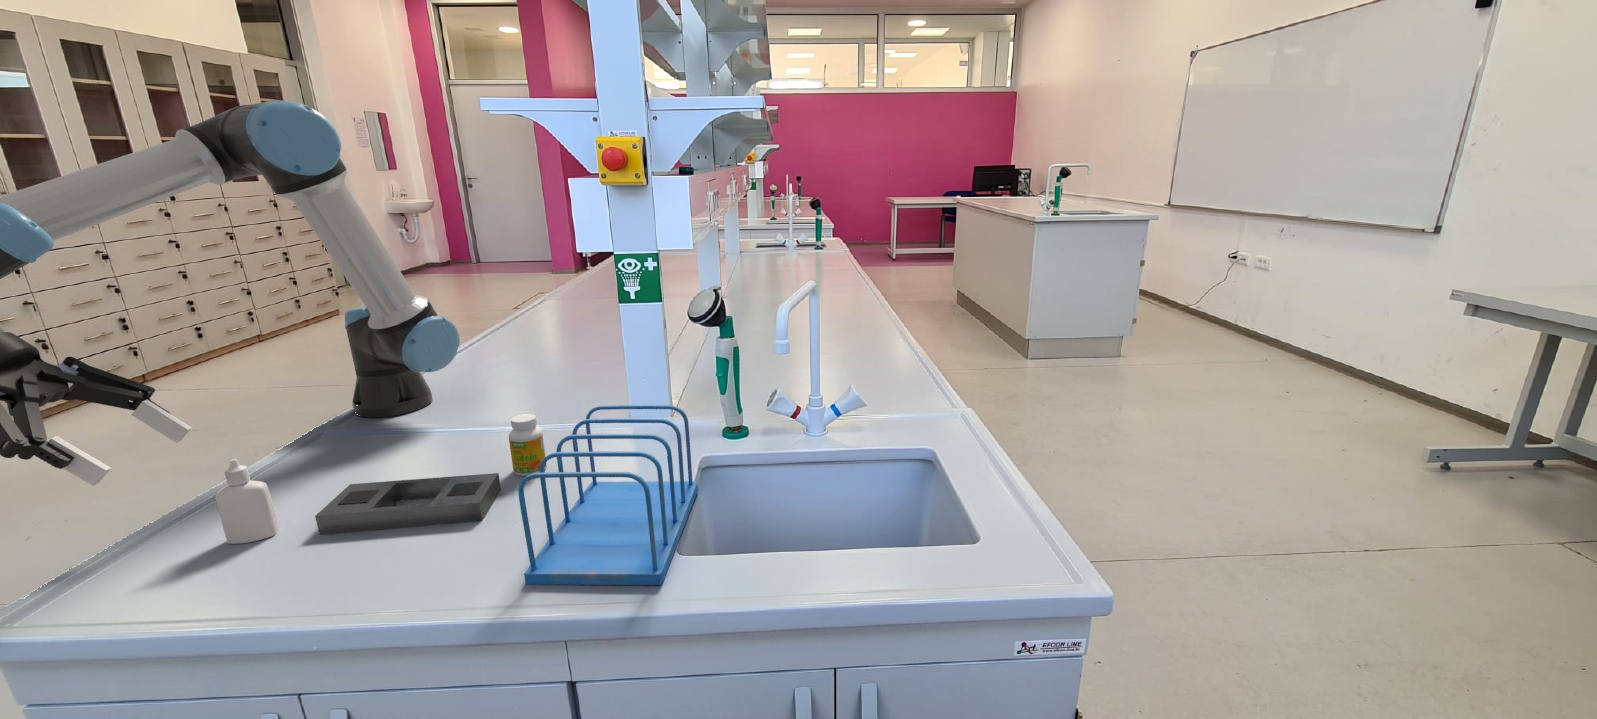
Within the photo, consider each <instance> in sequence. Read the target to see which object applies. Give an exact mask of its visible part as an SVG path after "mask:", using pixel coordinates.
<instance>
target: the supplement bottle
mask: <svg viewBox="0 0 1597 719" xmlns="http://www.w3.org/2000/svg"><path fill="white" fill-rule="evenodd" d="M537 423H538V420H537V416H536V415H535V414H534V413H524V414H523V413H522V414H518V415H515V416H513V417H512V418H511V419H510V425H511V428H512V429H511V430H510V431H509V433H508V442H509V448H510V450H509V451H510V458H511V464H512V469H513V473H514V474H515V475H516V476H518V477H519V476H520V477H527V476H528V475H530V474H533V473H540V472H539V468H540V464H541V462H542V460H543V459H544V458H545V457H546V452H545V451H546V449H545V443H544V435H543V430H542V428H541V427H540V426H538V425H537ZM546 468H547V463H546V464H545V467H544V471H545V470H546Z"/></svg>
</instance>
